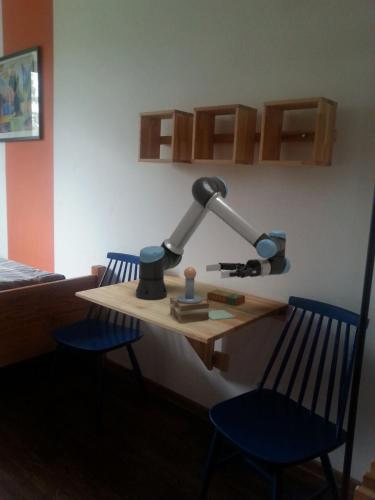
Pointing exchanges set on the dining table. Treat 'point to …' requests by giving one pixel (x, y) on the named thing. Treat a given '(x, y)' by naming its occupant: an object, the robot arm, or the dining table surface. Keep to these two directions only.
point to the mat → (219, 315)
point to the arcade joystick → (189, 288)
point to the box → (189, 311)
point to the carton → (226, 297)
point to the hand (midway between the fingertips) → (213, 271)
